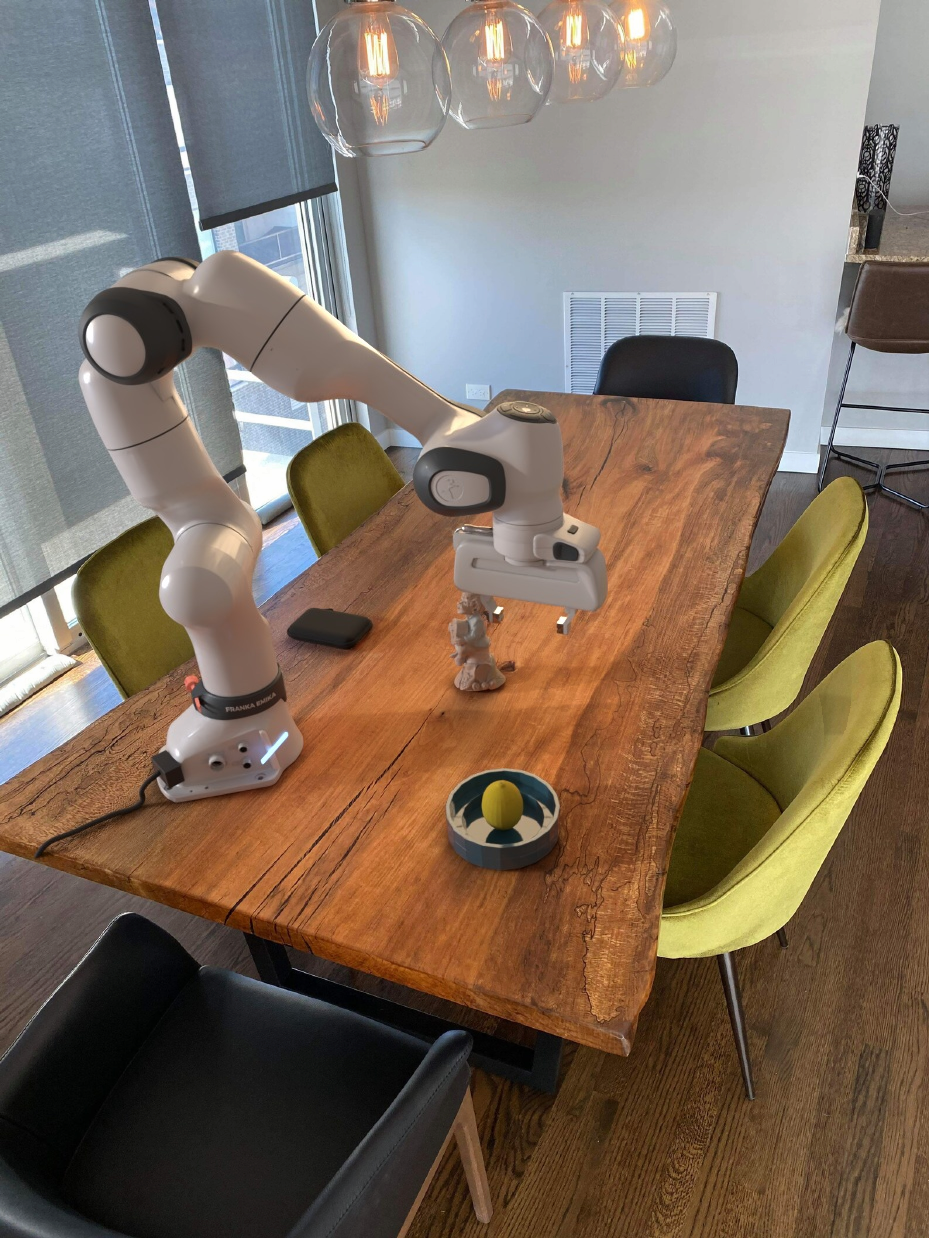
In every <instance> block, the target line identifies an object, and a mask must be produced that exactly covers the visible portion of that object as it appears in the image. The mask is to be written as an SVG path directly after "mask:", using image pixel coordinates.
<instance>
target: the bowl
mask: <svg viewBox="0 0 929 1238" xmlns="http://www.w3.org/2000/svg"><path fill="white" fill-rule="evenodd" d="M500 780H504V781H508V782H511V783H512V784H514V785H515V786H516V787H517V788H518V790H519V792H520V794H521V796H522V800H523V813H522V816H521V819H520V821H519V822H518V823H517V825H515V826H514V827H513V828H511V829H508V830H498V829H495V828H493V827H491V826H490V825H489V824H488V823H487V821H486V820H485V818H484V816H483V812H482V799H483V794H484V792H485V790H486V788H487V787H488V786H489V785H490V784H492V783H493V782H496V781H500ZM444 806H445V807H444V809H445V818H446V828H447V838H448V839H447V840H448V842H449V844H450V845H451V847H452V848H453V850H454V852H455V853H456V854H457V855H459V856H460V857H461V858H462V859H463V860H464V861H466V862H468V863H470V864H473V865H475V866H478V867H480V868H482V869H489V870H497V871H506V870H507V871H508V870H517V869H522V868H524V867H527V866H530V865H532V864H533V865H534V864H536V863H538V862H539V861H540V860H542V859H543V858H544V857H545V856H547V855H548V854H550V853H551V851H552V850H553V849H554V847H555V845H556V844H557V843H558V842H559V837H560V832H561V804H560V801H559V796H558V794H557V792H556V791H555V789H554V788H553V787H552V786H551V784H550V783H549V782H548V781H546V780H545V779H544V778H541V777H540V776H539V775H537V774H534V773H531V772H529V771H526V770H523V769H515V768H507V767H503V768H491V769H486V770H483V771H480V772H476V773H474V774H471V775H469V776H468V777H466V778H465V779H463V780H461V781H460V782H458V783H457V784H456V786H455V787H454V788H453V789H452V790H451V791H450V792H449V795H448V796H447V800H446V802H445V805H444Z"/></svg>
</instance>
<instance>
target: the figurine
mask: <svg viewBox="0 0 929 1238" xmlns="http://www.w3.org/2000/svg"><path fill="white" fill-rule="evenodd" d="M456 607H457V611H456V613H457V614H458V615H464V616H465V615H466V617H465V619H459V618H456V617H453V619H452V621H451V622H449V623H448V627H447V631H448V632H450V643H451V646H454V648H455V652H453V653H450V654H449V656H448V657H449V658H451V659H453V660H454V664H455V665H456V666H457V667H461V669H460V671H458V673H457V674H456V676H455V678H454V686H455V687H456V688H457V689H459V690H460V691H465V692H478V691H486V690H490V691H491V690H495V689H499V687H500V686H502V685H503V684H505V683H506V676H505V674H503V673H502V672H501V671H500V669H498V666H497V662H496V657H495V655H494V654H493V653H492V652H490V647H491V645H492V641H491V638H490V637H489V636H487V634H488V631H487V627H486V624H485V620H484V618H483V617H482V614H483V613H484V612H485V611H486V608H485V607H484V605H483V604H482V602H481V601H480V594H474V593H468V592H461V597H460V600H459V601H457V602H456ZM462 666H463V667H462Z"/></svg>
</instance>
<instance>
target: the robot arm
mask: <svg viewBox="0 0 929 1238" xmlns="http://www.w3.org/2000/svg"><path fill="white" fill-rule="evenodd" d="M77 336H78V342H79V345H80V348H81V351H82V354H83V355H84V357H85V359H84V360H83V362H82V363H81V365H80V366H79V370H78V383H79V386H80V389H81V392H82V396H83V399H84V401H85V405H86V407H87V410H88V412H89V415H90V417H91V419H92V422H93V425H94V426H95V429H96V431H97V434H98V436H99V437H100V439H101V441H102V443H103V445H104V448H106V451H107V452H108V455H109V456H110V458H111V460H112V461H113V463H114V465H115V467H116V469H117V471H118V473H119V474H120V476H121V478H122V480H123V482H124V483H125V485H126V487H127V489H128V491H129V493H130V494H131V496H132V498H133V500H134V501H135V502H136V503H137V504H138V505H139V506H141V507H143V508H146V509H149V510H151V511H152V512H154V513H155V515H157V516H158V518H159V519H160V520H161V521H162V522H163V523H164V524H165V525H166V527H167V528H168V529H169V531H170V532H171V534H172V538H173V542H174V545H173V547H172V549H171V551H170V552H169V554H168V556H167V558H166V559H165V561H164V563H163V566H162V569H161V575H160V581H159V590H158V597H159V601H160V605H161V606H162V608H163V609H164V612H165V614H167V615H168V616H169V617H170V619H171V620H173V621H174V622H175V623H177V624H179V625H180V626H182V627H183V628H184V629H185V631H186V633H187V634H188V637H189V639H190V641H191V644H192V647H193V651H194V655H195V658H196V661H197V662H196V663H197V666H198V669H199V673H200V676H201V678H200V679H198V677H197V676H195V675H188V676H186V678H185V679H184V685H185V690H186V691H187V692H188V693H190V696H191V702H192V704H190V706H189V707H187V708H186V709H185V710H184V711H183V712H182V713H181V714H180V715H179V716H178V717H176V718H175V719H174V720H173V721H172V722H171V724H170V725H169V728H168V729H167V733H166V739H165V740H166V742H165V745H163V746H162V747H161V748H160V750H159V751H158V753H156V754H155V755H152V756H150V759H151V763H152V766H153V769H154V773H153V774H151V775H150V776H149V777H147V778H146V779H145V780H144V782H143V783H142V784H141V786H140V787H139V790H138V796H139V800H138V801H137V802H136V803H135V804H133V805H131V806H129V807H126V808H122V809H118V810H114V811H111V812H108V813H106V814H104V815H102V816H100V817H97V818H96V819H93V820H90V821H88V822H86V823H83V824H82V825H80V826H78V827H76V828H73V829H71V830H68V831H65V832H63V833H60V834H58V835H57V834H56V835H55V836H53V837H51V838H49V839H47V840H46V841H45V842H43V843H42V844H41V845H40V846H39V848H37V850H36V852H35V854H34V856H33V858H34V859H38V858H40V857H41V856H42V855H43V854H44V852H45V851H46V850H47V849H48V848H49V847H50V846H51V845H53V844H55V843H57V842H59V841H62V840H65V839H68V838H70V837H73V836H75V835H77V834H80V833H82V832H84V831H87V830H88V829H90V828H92V827H95V826H97V825H100V824H102V823H104V822H106V821H108V820H110V819H113V818H116V817H120V816H122V815H127V814H130V813H132V812H134V811H137V810H139V809H140V808H141V807H143V805H144V804H145V802H146V798H147V797H146V792H145V791H146V790H147V788H148V787H149V785H151V784H152V783H153V782H154V781H155V780H156V782H157V785H158V787H159V790H160V792H161V793H162V794H163V796H164V797H165V798H166V799H168V800H170V801H171V802H174V803H185V802H189V801H194V800H195V801H196V800H199V799H200V800H201V799H206V798H210V797H216V796H222V795H227V794H232V793H239V792H245V791H249V790H256V789H261V788H267V787H271V786H274V785H275V784H276V783H277V782H278V781H279V780H280V778H281V776H282V774H283V772H284V771H285V770H286V769H287V768H288V767H290V765H292V764H293V763H294V762H295V761H296V760H297V759H298V757H299V756H300V754H301V753H302V751H303V748H304V736H303V734H302V732H301V730H299V728H298V725H297V724H296V722H295V720H294V718H293V715H292V713H291V710H290V707H289V705H288V702H287V700H288V697H287V693H288V691H287V686H286V681H285V676H284V672H283V670H282V668H281V665H280V663H279V662H278V661H277V656H276V651H275V646H274V641H273V636H272V635H273V634H272V631H271V630H272V629H271V626H270V622H269V621H268V619H267V618H266V617H264V615H262V614H261V613H260V610H259V608H258V605H257V604H256V600H255V598H254V592H253V580H254V579H253V578H254V573H255V569H256V567H257V563H258V561H259V559H260V556H261V553H262V549H263V543H264V542H263V539H264V538H263V536H264V535H263V525H262V521H261V517H260V516H259V514H258V512H257V511H256V509H254V507H253V506H251V504H250V503H248V502H246V501H245V500H242V499H240V498H239V497H238V495H237V494H236V493H235V492H234V491H233V489H232V488H231V487H230V485H229V484H228V483H227V481H226V480H225V479H224V477H223V476H222V475H221V473H220V471H219V470H218V469H217V467H216V465H215V464H214V462H213V461H212V458H211V456H210V454H209V453H208V450H207V448H206V447H205V444H204V443H203V441H202V439H201V436H200V434H199V432H198V430H197V428H196V426H195V424H194V422H193V421H192V419H191V416H190V414H189V412H188V410H187V408H186V406H185V404H184V402H183V400H182V398H181V397H180V394H179V393H178V392H179V391H178V389H177V388H176V385H175V381H174V369H175V368H177V367H178V366H181V365H182V364H183V363H185V362H186V361H187V360H189V359H190V358H191V357H192V356H193V355H194V354H195V352H196V351H197V350H198V349H200V348H212V349H216V350H218V351H220V352H221V353H224V354H225V355H226V356H229V357H230V358H231V359H233V360H234V361H235V362H237V364H239V365H240V366H242V367H243V369H246V371H248V372H249V373H251V374H252V375H253V376H254V377H256V378H257V379H258V380H259V381H261V382H262V383H264V384H265V385H266V386H268V387H269V388H272V389H273V390H274V391H276V392H277V393H280V394H281V395H283V396H285V397H287V398H289V399H292V400H293V401H296V402H298V403H306V404H314V403H321V402H327V401H333V400H351V401H355V402H359V403H362V404H364V405H366V406H368V407H370V408H372V409H373V410H375V411H376V412H378V413H379V414H380V415H382V416H384V417H385V418H387V419H388V420H390V421H391V422H393V423H394V424H395V425H397V426H399V427H400V428H401V429H402V430H405V432H407V433H409V434H410V435H411V436H413V437H414V438H415V439H416V440H417V441H418V442H419V444H420V445H421V447H422V449H421V451H420V452H419V455H418V457H417V460H416V463H415V465H414V468H413V472H412V485H413V488H414V491H415V494H416V496H417V497H418V499H419V501H420V502H421V503H422V504H423V505H424V506H425V507H426V508H427V509H429V511H432V512H433V513H435V514H437V515H440V516H444V517H448V518H457V517H467V516H475V515H481V514H485V513H490V512H492V526H480V525H479V526H478V525H473V524H468V523H467V524H466V523H465V524H463V525H462V526H459V527H457V528H456V529H455V530H454V532H453V534H452V546H453V550H454V551H455V555H454V566H453V584H454V586H455V587H456V589H457V590H458V591H459V592H461V593H462V592H468V593H474V594H480V601H481V602H482V604H483V605H484V607H485V608H486V609H485V611H487V613H488V620H489V621H488V622H489V623H492V624H496V625H497V624H498V625H501V624H502V622H503V621H504V619H505V614H504V613H505V610H504V607H503V606H499V605H498V604H497V601H496V599H495V598H501V599H507V600H514V601H521V602H525V603H534V604H540V605H545V606H553V607H560V608H564V614H565V615H567V616H560V617H559V619H558V620H557V622H556V634H559V635H563V636H569V635H570V633H571V630H572V620H573V619H574V617H576V615H577V613H578V612H579V611H586V612H590V613H591V612H592V613H595V612H597V611H599V610H600V609H601V608H602V607H603V606H604V604H605V602H606V601H607V598H608V592H609V590H608V589H609V579H608V569H607V562H606V558H605V554H604V553H603V551H602V550H601V549H600V548H598V547H599V544H600V541H601V537H602V535H601V533H602V532H601V530H600V529H599V528H598V527H596V526H594V525H592V524H589V523H586V521H585V522H584V521H582V520H580V519H578V518H575V517H573V516H571V515H570V514H568V513H565V512H564V510H565V509H564V503H563V500H562V496H561V491H562V490H561V489H562V485H563V483H564V478H565V468H564V467H565V466H564V465H565V463H564V462H565V461H564V445H563V437H562V430H561V426H560V423H559V421H558V419H557V417H556V416H555V415H554V414H553V412H551V411H550V410H549V409H547V408H546V407H543V406H541V405H540V404H536V403H532V402H529V401H528V402H527V401H520V400H519V401H518V400H517V401H516V400H515V401H508V402H507V401H506V402H502V403H499V404H498V405H496V407H495V408H494V409H493V410H492V411H491V412H489V413H488V412H486V411H485V410H482V409H481V408H478V407H475V406H473V405H469V404H465V403H462V402H459V401H455V400H453V399H450V398H448V397H446V396H444V395H442V394H441V393H439V392H438V391H436V390H435V389H433V388H432V387H431V386H429V385H428V384H427V383H425V382H424V381H422V380H421V379H419V378H418V377H416V375H414V374H412V373H411V372H410V371H408V370H407V369H406V368H404V367H402V366H401V365H400V364H398V363H397V362H395V361H394V360H392V359H391V358H390V357H388V356H386V355H385V354H384V353H382V352H381V351H379V350H377V349H376V348H374V347H373V346H371V345H370V344H369V343H368V342H366V341H365V340H364V339H363V338H361V337H360V336H358V335H357V334H356V333H354V332H353V331H352V330H351V329H349V328H348V327H347V326H346V325H344V324H343V323H342V322H341V321H340V320H339V319H337V318H336V317H335V316H333V315H332V314H331V313H330V312H329V311H328V310H327V309H326V308H324V307H323V306H322V305H320V304H319V303H318V302H317V301H316V300H314V299H313V298H312V297H310V296H309V295H308V294H306V293H305V292H304V291H303V290H302V289H300V288H299V287H297V285H295V284H294V283H292V282H290V280H288V279H286V278H285V277H284V276H282V275H280V273H278V272H276V271H274V270H273V269H271V268H269V267H268V266H266V265H265V264H264V263H261V262H259V261H258V260H255V259H254V258H252V257H250V256H248V255H246V254H244V253H242V252H241V251H237V250H234V249H222V250H219V251H216V252H215V253H212V254H211V255H209V256H208V257H206V258H205V259H204V260H203V261H202V262H199V261H197V260H194V259H192V258H190V257H189V258H188V257H185V256H165V257H160V258H157V259H155V260H153V261H151V262H150V263H147V264H145V265H142V266H140V267H137V268H135V269H133V270H131V271H129V272H126V273H125V274H124V275H123V276H121V278H120V279H119V280H117V281H116V282H115V283H114V284H112V285H111V286H109V287H108V288H105V289H104V290H101V291H100V292H98V293H97V294H96V295H95V296H94V297H93V298H92V299H90V301H89V302H88V304H87V305H86V307H85V308H84V310H83V311H82V313H81V316H80V318H79V322H78V327H77Z"/></svg>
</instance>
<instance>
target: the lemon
mask: <svg viewBox="0 0 929 1238" xmlns="http://www.w3.org/2000/svg"><path fill="white" fill-rule="evenodd" d="M482 812H483V816H484V818H485V820H486V821H487V823H488V824H489V825H490V826H491V827H493V828H495V829H498V830H508V829H511V828H513V827H514V826H515V825H517V823H518V822H519V821H520V819H521V816H522V813H523V800H522V796H521V794H520V792H519V790H518V788H517V787H516V786H515V785H514V784H512V783H511V782H508V781H504V780H500V781H496V782H493V783H492V784H490V785H489V786H488V787H487V788H486V790H485V792H484V794H483V799H482Z"/></svg>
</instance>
